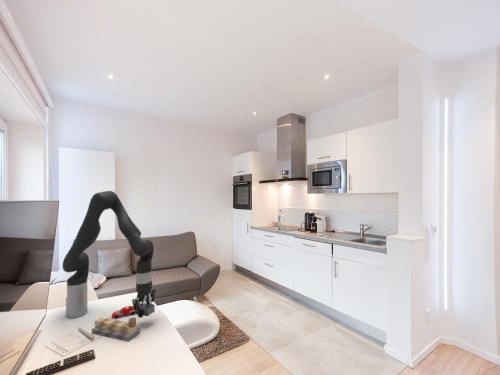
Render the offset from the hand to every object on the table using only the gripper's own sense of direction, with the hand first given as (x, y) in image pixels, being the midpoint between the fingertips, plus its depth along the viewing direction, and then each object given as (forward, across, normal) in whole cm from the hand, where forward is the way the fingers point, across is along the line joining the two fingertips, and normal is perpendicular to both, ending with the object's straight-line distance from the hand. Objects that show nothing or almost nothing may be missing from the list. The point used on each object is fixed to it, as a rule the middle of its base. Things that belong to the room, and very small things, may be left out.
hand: (144, 314), depth 123 cm
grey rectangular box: (-1, 0, 0) cm, 1 cm away
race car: (+6, -5, -18) cm, 20 cm away
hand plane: (+5, +10, -8) cm, 14 cm away
